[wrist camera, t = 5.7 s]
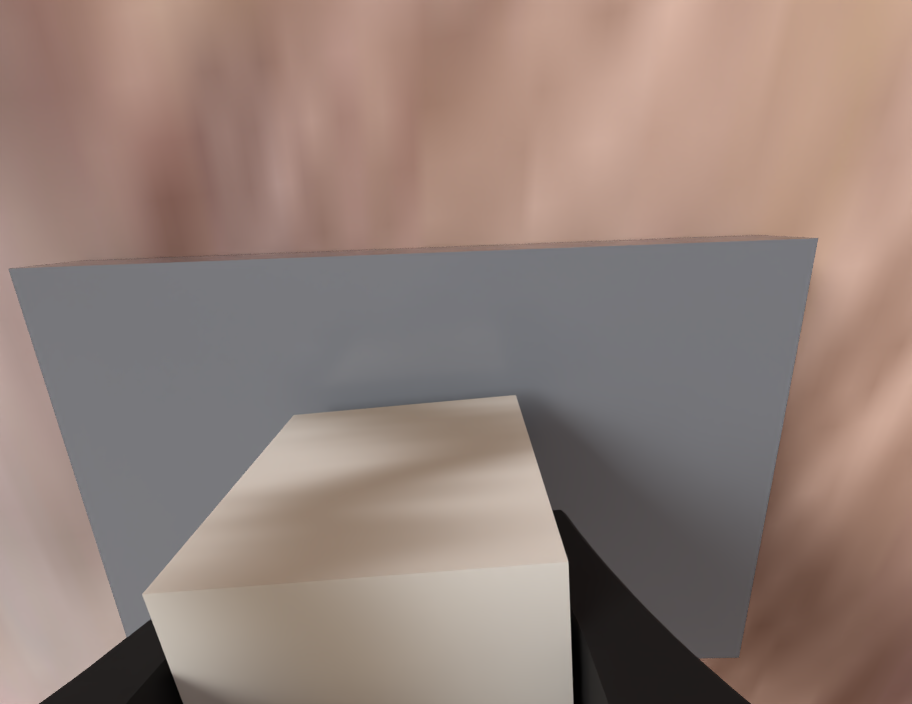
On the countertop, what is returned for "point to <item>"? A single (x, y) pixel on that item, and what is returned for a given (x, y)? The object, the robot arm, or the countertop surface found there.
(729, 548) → the slate board
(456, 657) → the cream cube
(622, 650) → the robot arm
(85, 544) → the countertop surface
